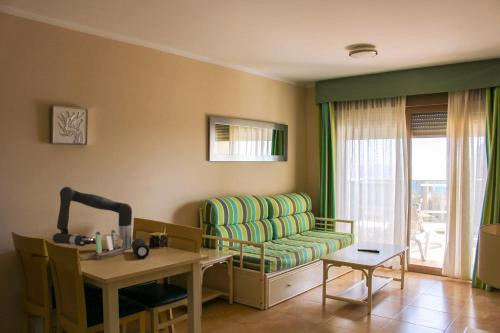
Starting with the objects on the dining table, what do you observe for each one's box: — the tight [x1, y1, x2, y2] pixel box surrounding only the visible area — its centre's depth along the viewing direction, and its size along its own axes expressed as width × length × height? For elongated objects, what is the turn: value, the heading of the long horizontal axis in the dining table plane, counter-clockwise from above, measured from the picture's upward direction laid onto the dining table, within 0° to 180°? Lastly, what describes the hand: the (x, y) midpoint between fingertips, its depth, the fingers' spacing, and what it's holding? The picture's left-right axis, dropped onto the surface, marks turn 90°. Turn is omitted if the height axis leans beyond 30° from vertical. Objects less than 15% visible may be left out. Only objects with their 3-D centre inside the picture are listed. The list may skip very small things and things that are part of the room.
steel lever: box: [110, 229, 118, 249], centre depth 299 cm, size 2×3×13 cm
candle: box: [148, 232, 168, 248], centre depth 325 cm, size 10×10×10 cm
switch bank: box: [90, 246, 125, 261], centre depth 290 cm, size 9×23×5 cm, turn 157°
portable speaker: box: [131, 238, 150, 259], centre depth 294 cm, size 26×10×10 cm, turn 21°
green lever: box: [94, 231, 103, 254], centre depth 282 cm, size 3×4×15 cm
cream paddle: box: [104, 234, 114, 251], centre depth 293 cm, size 1×4×10 cm, turn 157°
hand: (97, 242), depth 283 cm, fingers closed
